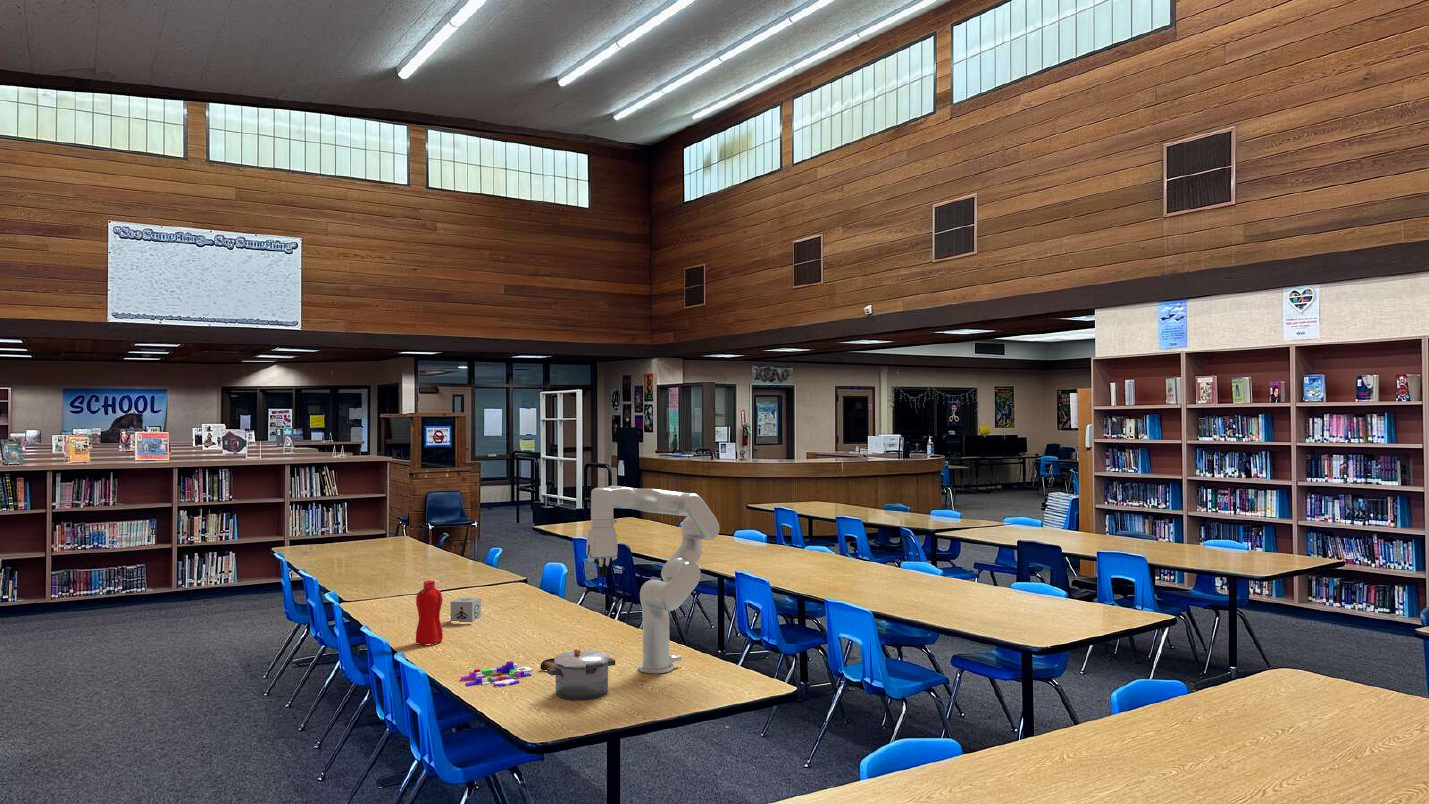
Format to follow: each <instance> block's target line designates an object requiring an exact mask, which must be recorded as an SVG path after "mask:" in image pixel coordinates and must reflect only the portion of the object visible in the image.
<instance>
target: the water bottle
mask: <svg viewBox="0 0 1429 804" xmlns="http://www.w3.org/2000/svg"><path fill="white" fill-rule="evenodd" d="M415 597H416V598H415V601H416V602H415V605H416V608H417V609H416V610H417V613H418V622H417V627H416V631H415V643H416V644H417V643H419V644H434V645H436V644H435V643H437V644H439V643H438V642H440V643H441V642H442V641H443V638H444V635H443V628H442V623H441V619H440V618H441V617H440V616H441V615H440V614H441V610H442V609H441V608H442V604H443V599H444V598H443V595H442V592H441V591H440V590H439V589H438V588H436V581H435V580H425V581H424V582H423V588H422V589H420V591H419V592H417V594H416V596H415ZM419 644H418V645H419Z"/></svg>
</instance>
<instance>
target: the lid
mask: <svg viewBox="0 0 1429 804" xmlns="http://www.w3.org/2000/svg"><path fill="white" fill-rule="evenodd" d="M554 658H555V664H556V665H558V666H561V667H567V668H588V669H592V668H598V667H603V664H605V663H607V662H608V661H609V658H610V656H609V653H606V652H604V651H601V650H600V651H598V650H591V649H590V650H588V649H587V650H586V649H585V650H581V649H580V648H579V649H578V648H576V649H574V650H572V651H567V652H566V651H565V652H561V653H560V654H556V656H555V657H554Z"/></svg>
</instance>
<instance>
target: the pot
mask: <svg viewBox="0 0 1429 804" xmlns="http://www.w3.org/2000/svg"><path fill="white" fill-rule="evenodd" d="M555 665H556V664H555ZM612 666H616V659H613V658H611V657H609V661H608V662H607V663H605V664H603V667H598V668H592V669H588V668H567V667H561V666H558V665H556V667H552V668H547V672H546V673H547V674H548V675H550V676H551V677H552V676H553V677H555V697H556V698H558V697H559V699H560V700H564V701H570V702H571V701H573V702H578V701H579V702H581V701H583V702H584V701H591V700H596V699H600V698H602V696H603V697H605V696H606V695H607V694H609V667H612ZM604 695H605V696H604Z"/></svg>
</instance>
